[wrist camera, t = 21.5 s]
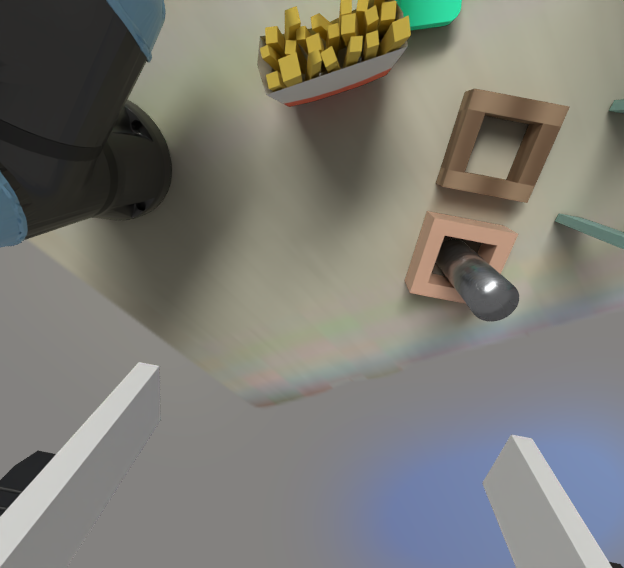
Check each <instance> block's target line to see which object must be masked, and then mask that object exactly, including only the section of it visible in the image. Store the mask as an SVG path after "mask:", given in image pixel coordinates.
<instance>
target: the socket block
mask: <svg viewBox="0 0 624 568" xmlns="http://www.w3.org/2000/svg"><path fill="white" fill-rule="evenodd" d="M568 110H569V106H564V105H558V104H553V103H548V102H542V101H537V100H532V99H527V98H521V97H516V96H511V95H506V94H500V93H495V92H490V91H485V90H479V89H472V90H469V91H466V92H465V93H464V97H463V100H462V103H461V106H460V109H459V112H458V115H457V118H456V122H455V125H454V128H453V131H452V134H451V137H450V140H449V143H448V147H447V150H446V153H445V156H444V159H443V162H442V165H441V168H440V172H439V175H438V178H437V181H436V184H438V185H440V186H442V187H447V188H452V189H457V190H463V191H468V192H473V193H478V194H484V195H489V196H494V197H499V198H504V199H510V200H515V201H520V202H525V203H527V202H528V200H529V198H530V195H531V193H532V191H533V189H534V186H535V184H536V182H537V180H538V177H539V175H540V173H541V171H542V168H543V166H544V164H545V162H546V159H547V157H548V155H549V153H550V150H551V148H552V146H553V144H554V141H555V139H556V137H557V134H558V132H559V130H560V128H561V125H562V123H563V121H564V119H565V116H566V114H567V112H568ZM484 116H489V117H494V118H499V119H504V120H510V121H515V122H520V123H525V124H529V125H528V127H527V130H526V132H525V135H524V137H523V140H522V142H521V145H520V147H519V150H518V152H517V155H516V157H515V160H514V162H513V164H512V167H511V169H510V172H509V174H508V177H507V179H506V180H505V179H499V178H494V177H489V176H484V175H479V174H473V173H468V172H465V170H466V167H467V164H468V161H469V158H470V155H471V153H472V150H473V147H474V144H475V141H476V138H477V135H478V133H479V130H480V127H481V124H482V121H483V118H484Z"/></svg>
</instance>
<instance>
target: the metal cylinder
mask: <svg viewBox="0 0 624 568" xmlns="http://www.w3.org/2000/svg"><path fill="white" fill-rule="evenodd" d="M436 263H437V264H438V266H439V267H440V269H441V270H442V271H443V273H444V274H445V275H446V277H447V278H448V279H449V281H450V282H451V283H452V285H453V286H454V288H455V289H456V290H457V292H458V293H459V294H460V296H461V297H462V298H463V300H464V301H465V302H466V304H467V305H468V307H469V308H470V309H471V311H472V312H473V313H474V315H475V316H476V317H478V318H479V319H481V320H485V321H498V320H501V319H503V318H505V317H507V316H509V315H510V314H511V313H512V312H513V311H514V310H515V309H516V307H517V305H518V302H519V293H518V291H517V289H516V288H515V286H514V285H512V284H511V283H510V282H509V281H508V280H507V279H506V278H504V277H503V276H502V275H501V274H500V273H499V272H498V271H496V270H495V269H494V268H493V267H492V266H491V265H490V264H488V263H487V262H486V261H485V260H484V259H483V258H482V257H480V256H479V255H478V254H477V253H476V252H475V251H474V250H472V249H471V248H470V247H469V246H468V245H467V244H466V243H464V242H463V241H462V240H459V239H448V240H445V241H444V242H442V244H441V247H440V250H439V253H438V256H437V259H436Z"/></svg>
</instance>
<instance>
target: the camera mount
mask: <svg viewBox="0 0 624 568" xmlns="http://www.w3.org/2000/svg"><path fill="white" fill-rule="evenodd" d="M395 1H396V3H397V4H398V6H399V7H400V9H401V10H402V12H403V16H404V17H406V16H408V15H409V23H410V31H411V30H419V29H426V28H433V27H440V26H446V25H448V24H450V23H451V22H452V21H453V20H454V19H455V18H456V17H457V16H458V14H459V12H460V10H461V2H462V0H395Z"/></svg>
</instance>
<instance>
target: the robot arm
mask: <svg viewBox="0 0 624 568" xmlns="http://www.w3.org/2000/svg"><path fill="white" fill-rule="evenodd" d="M164 20H165V4H164V0H0V247H5V246H14V245H17V244H19V243H21V242H22V241H24V240H26V239H29V238H32V237H35V236H38V235H41V234H44V233H47V232H49V231H52V230H55V229H58V228H61V227H64V226H67V225H70V224H73V223H76V222H79V221H82V220H85V219H88V218H91V217H92V218H101V219H110V220H128V219H133V218H136V217H139V216H141V215H144V214H146V213H148V212H150V211H152V210H153V209H155V208H156V207H157V206H158V205H159V204H160V203H161V202H162V201H163V199H164V198H165V196H166V194H167V192H168V189H169V186H170V182H171V172H172V169H171V159H170V154H169V150H168V147H167V144H166V142H165V140H164V137H163V136H162V134H161V132H160V130H159V129H158V127H157V126H156V124H155V123H154V122H153V120H152V119H151V118H150V117H149V116H148V115H147V114H146V113H145V112H144V111H143V110H142V109H141V108H139V107H138V106H137V105H135V104H134V103H132V102H131V101H129V100H127V99H128V97H129V95H130V93H131V91H132V89H133V87H134V85H135V83H136V81H137V79H138V77H139V75H140V73H141V71H142V69H143V67H144V65H145V63H146V61H147V62H150V61H151V59H152V54H151V51H152V49H153V47H154V44H155V42H156V40H157V37H158V35H159V33H160V30H161V28H162V26H163V23H164ZM160 412H161V411H160V376H159V366H157V365H151V364H147V363H141V362H138V364H137V365H136V366H135V367H134V368H133V369H132V370H131V371H130V372H129V374H128V375H127V376H126V377H125V378H124V379H123V380H122V381H121V383H120V384H119V385H118V386H117V387H116V388H115V389H114V390H113V391H112V393H111V394H110V395H109V396H108V397H107V398H106V399H105V400H104V402H103V403H102V404H101V405H100V406H99V407H98V408H97V410H96V411H95V412H94V413H93V414H92V415H91V416H90V417H89V418H88V419H87V420H86V422H85V423H84V424H83V425H82V426H81V427H80V428H79V429H78V431H77V432H76V433H75V434H74V435H73V436H72V437H71V439H70V440H69V441H68V442H67V443H66V444H65V445H64V446H63V447H62V448H61V450H60V451H59V452H58V453H57V454H52V453H47V452H42V451H37V452H35V453H34V454H32V455H31V456H29V457H27V458H26V459H24V460H23V461H21V462H20V463H18V464H17V465H15V466H14V467H13V468H12V469H11V470H10V471H9V472H8V473H7V474H6V475H5V476H4V477H3V478H2V479H1V480H0V568H67V567H68V565H69V564H70V562H71V560H72V559H73V557H74V555H75V554H76V552H77V551H78V549H79V548H80V546H81V545H82V543H83V542H84V540H85V538H86V537H87V535H88V533H89V532H90V531H91V529H92V527H93V526H94V524H95V523H96V521H97V520H98V518H99V516H100V515H101V513H102V512H103V510H104V509H105V507H106V505H107V504H108V502H109V500H110V499H111V498H112V496H113V494H114V493H115V491H116V490H117V488H118V487H119V485H120V483H121V482H122V480H123V479H124V477H125V476H126V474H127V472H128V471H129V469H130V468H131V466H132V464H133V463H134V461H135V460H136V458H137V457H138V455H139V454H140V452H141V450H142V449H143V447H144V446H145V444H146V443H147V441H148V439H149V438H150V436H151V435H152V433H153V432H154V430H155V428H156V427H157V425H158V424H159V422H160V420H161V413H160ZM483 486H484V489H485V491H486V494H487V496H488V498H489V501H490V503H491V506H492V508H493V511H494V513H495V516H496V518H497V521H498V524H499V526H500V528H501V531H502V534H503V536H504V539H505V541H506V544H507V546H508V548H509V551H510V553H511V556H512V558H513V561H514V563H515V566H516V568H623V567H622V566H621V565H620V564H617V563H612V562H608V560H607V558H606V557H605V555H604V553H603V552H602V550H601V549H600V547H599V545H598V544H597V542H596V541H595V539H594V537H593V536H592V535H591V533H590V531H589V530H588V528H587V526H586V525H585V523H584V522H583V520H582V518H581V517H580V515H579V513H578V512H577V510H576V509H575V507H574V505H573V504H572V502H571V501H570V499H569V497H568V496H567V494H566V493H565V491H564V489H563V488H562V486H561V485H560V483H559V481H558V480H557V478H556V477H555V475H554V473H553V472H552V470H551V468H550V467H549V465H548V464H547V462H546V461H545V459H544V457H543V456H542V454H541V452H540V451H539V449H538V448H537V446H536V444H535V443H534V441H533V440H532V439H531V438H526V437H521V436H516V435H511V436H510V437H509V439H508V441H507V442H506V444H505V446H504V448H503V449H502V451H501V453H500V454H499V456H498V458H497V459H496V461H495V463H494V464H493V466H492V468H491V469H490V471H489V473H488V474H487V476H486V478H485V479H484V481H483Z"/></svg>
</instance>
